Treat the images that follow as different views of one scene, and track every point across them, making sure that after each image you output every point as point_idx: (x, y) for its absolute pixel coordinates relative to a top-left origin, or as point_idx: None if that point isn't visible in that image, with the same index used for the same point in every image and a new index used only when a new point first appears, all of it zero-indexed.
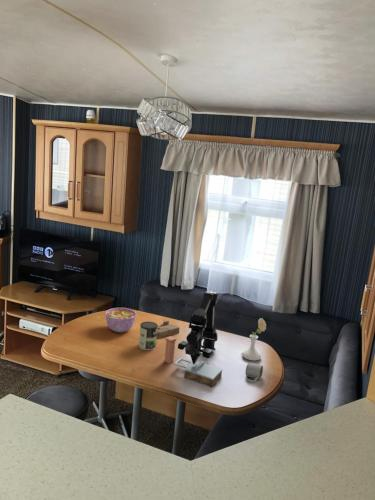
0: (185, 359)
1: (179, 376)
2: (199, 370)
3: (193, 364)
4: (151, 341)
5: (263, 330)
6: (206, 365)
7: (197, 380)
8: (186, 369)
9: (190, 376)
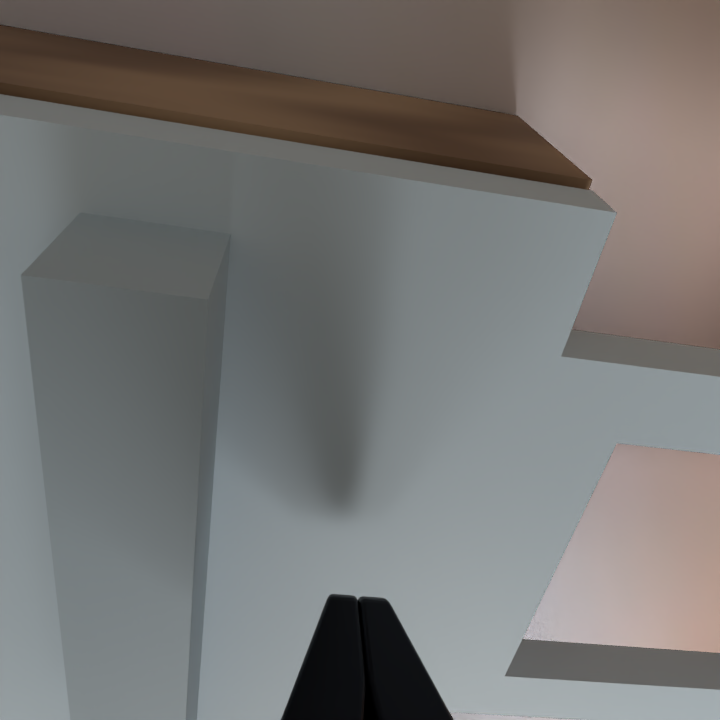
0: (671, 707)
1: (670, 82)
2: (13, 385)
3: None
4: None
5: None
6: (13, 705)
7: (28, 37)
8: (554, 205)
9: (313, 99)
